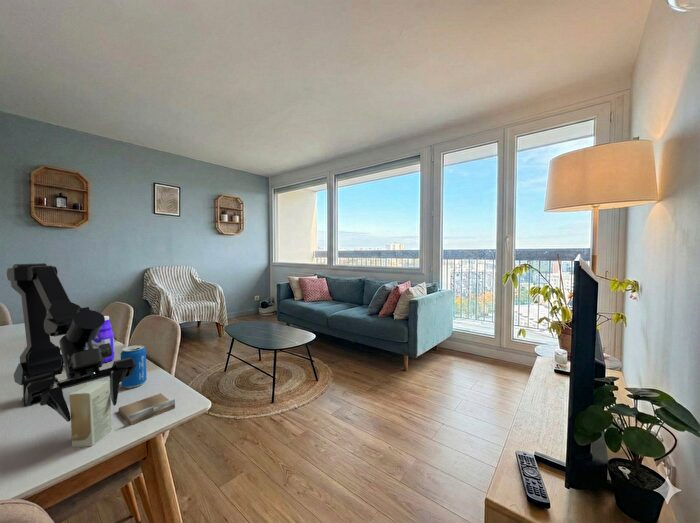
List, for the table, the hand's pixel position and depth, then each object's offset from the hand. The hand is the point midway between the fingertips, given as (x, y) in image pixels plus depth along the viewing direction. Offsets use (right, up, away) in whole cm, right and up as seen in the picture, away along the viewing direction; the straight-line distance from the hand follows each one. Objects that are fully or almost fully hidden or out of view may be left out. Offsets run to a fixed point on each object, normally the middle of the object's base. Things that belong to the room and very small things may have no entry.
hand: (93, 412), depth 65 cm
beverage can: (-11, -6, +27) cm, 30 cm away
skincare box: (-1, -7, +1) cm, 7 cm away
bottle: (-38, -5, +47) cm, 60 cm away
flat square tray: (+3, -6, +13) cm, 15 cm away
